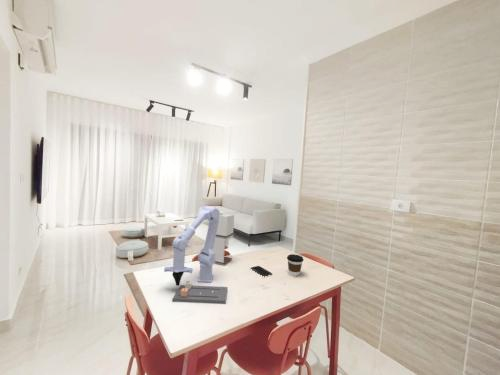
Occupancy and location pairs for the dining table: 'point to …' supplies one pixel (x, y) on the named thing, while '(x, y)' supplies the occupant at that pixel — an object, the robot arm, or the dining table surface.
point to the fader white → (188, 284)
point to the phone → (261, 271)
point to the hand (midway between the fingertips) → (177, 284)
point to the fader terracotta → (184, 292)
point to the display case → (223, 238)
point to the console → (202, 294)
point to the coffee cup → (294, 264)
